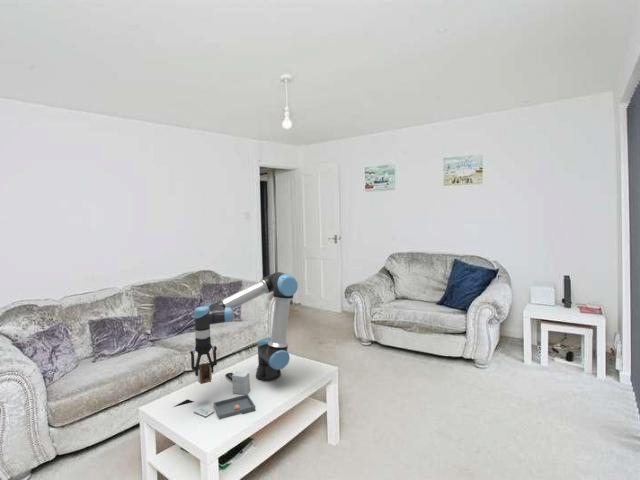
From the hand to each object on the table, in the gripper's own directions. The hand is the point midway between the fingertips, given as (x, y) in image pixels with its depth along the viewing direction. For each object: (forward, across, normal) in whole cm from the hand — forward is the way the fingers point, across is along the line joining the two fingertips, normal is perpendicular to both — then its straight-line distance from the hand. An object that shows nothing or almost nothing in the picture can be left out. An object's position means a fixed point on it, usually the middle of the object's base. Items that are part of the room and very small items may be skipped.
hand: (204, 380), depth 191 cm
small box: (+13, -20, -3) cm, 24 cm away
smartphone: (+14, +13, -2) cm, 19 cm away
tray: (+13, -12, +13) cm, 22 cm away
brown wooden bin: (0, 0, 0) cm, 0 cm away
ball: (+12, -12, +17) cm, 24 cm away
